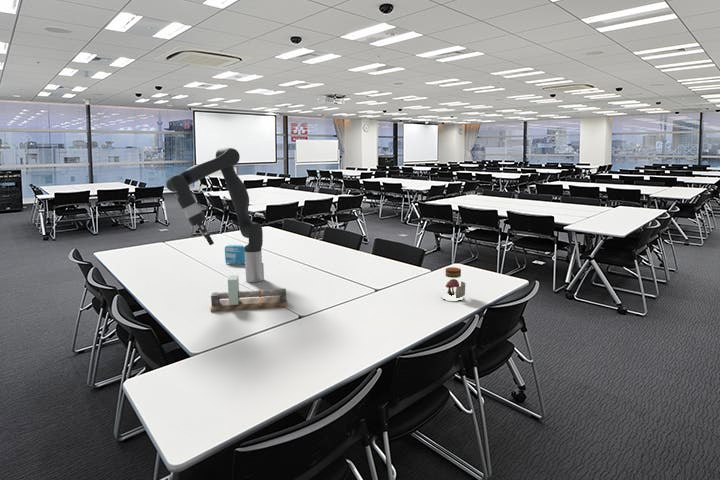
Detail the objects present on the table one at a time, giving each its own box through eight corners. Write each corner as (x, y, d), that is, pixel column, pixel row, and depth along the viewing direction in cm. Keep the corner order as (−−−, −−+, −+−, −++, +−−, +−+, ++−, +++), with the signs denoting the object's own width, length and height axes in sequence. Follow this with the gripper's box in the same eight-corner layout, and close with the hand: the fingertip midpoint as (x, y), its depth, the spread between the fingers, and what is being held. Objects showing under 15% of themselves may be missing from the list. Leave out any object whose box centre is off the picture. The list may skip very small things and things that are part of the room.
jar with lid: (439, 302, 215) (440, 271, 212) (441, 294, 227) (442, 265, 224) (464, 303, 212) (465, 273, 209) (464, 295, 224) (466, 266, 221)
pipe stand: (210, 311, 202) (209, 296, 200) (214, 303, 213) (213, 288, 212) (286, 307, 208) (286, 292, 206) (286, 299, 219) (285, 284, 218)
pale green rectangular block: (229, 305, 205) (227, 280, 202) (231, 299, 212) (229, 275, 210) (238, 304, 205) (236, 279, 203) (239, 299, 213) (238, 275, 211)
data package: (225, 264, 289) (224, 245, 287) (229, 262, 294) (228, 244, 291) (242, 265, 286) (241, 246, 284) (245, 263, 291) (244, 245, 288)
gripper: (202, 210, 207) (219, 241, 210) (201, 210, 220) (217, 239, 224) (187, 218, 205) (205, 248, 208) (187, 217, 218) (204, 246, 222)
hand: (211, 243), depth 216 cm, fingers open, 8 cm apart
